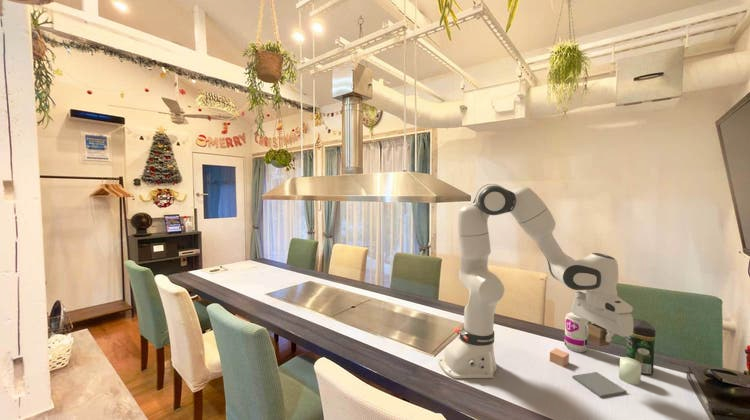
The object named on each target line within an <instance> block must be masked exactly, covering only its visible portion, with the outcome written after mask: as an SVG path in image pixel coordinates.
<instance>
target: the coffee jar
mask: <svg viewBox="0 0 750 420" xmlns="http://www.w3.org/2000/svg"><path fill="white" fill-rule="evenodd" d="M655 340H656V328H654V326H653V325H652V324H650V323H649V322H647V321H646V320H644V319H637V318H633V334H632V335H631V336H627V337H626V341H625V342H626V344H625V357H628V358H632V359H635V360H637V361H639V362H640V363H641V375H653V374H654V366H655V365H654V361H655V360H654V359H655V344H656V343H655Z"/></svg>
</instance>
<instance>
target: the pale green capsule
mask: <svg viewBox="0 0 750 420" xmlns="http://www.w3.org/2000/svg"><path fill="white" fill-rule="evenodd" d="M618 368H619V370H618V378H619V380H620V381H622V382H624V383H626V384H628V385H631V386H640V385H641V381H642V380H641V375H642V374H641V363H640V362H639V361H637V360H635V359H632V358H628V357H626V356H621V357H620V358H619V367H618Z"/></svg>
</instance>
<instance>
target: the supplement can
mask: <svg viewBox="0 0 750 420" xmlns="http://www.w3.org/2000/svg"><path fill="white" fill-rule="evenodd" d="M564 322H565V325H564V328H565V329H564V341H563V342H564V343H563V344H564V346H565V347H566V348H567V349H568V350H570V351H572V352H576V353H584V352H586V351H587V350H588V332H587V329H588V328H587V326H586V324H585V319H583V318H581V317H579V316H576V315H574V314H573V312H572V311H568V312H567V313H566V315H565V320H564Z"/></svg>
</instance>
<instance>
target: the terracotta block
mask: <svg viewBox="0 0 750 420" xmlns="http://www.w3.org/2000/svg"><path fill="white" fill-rule="evenodd" d="M549 362H551V363H553V364H555V365H558V366H560V367H561V368H562V367H563V368H564V367H565V366H567V365H568V364H569V363H570V353H568V352H566V351H564V350H561V349H559V348H557V347H556V348H554V349H552V350H550V352H549Z"/></svg>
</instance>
